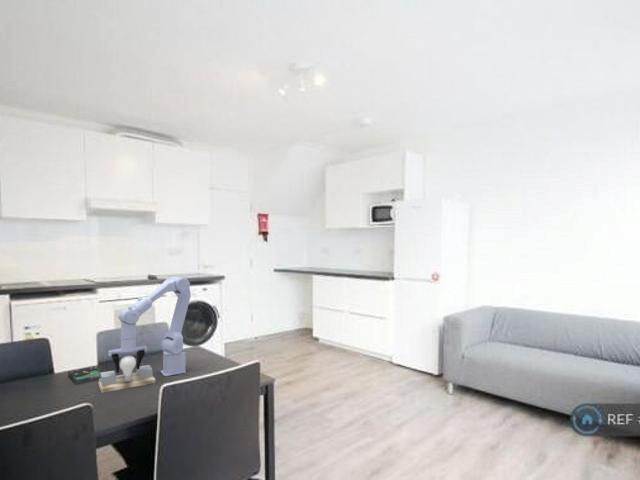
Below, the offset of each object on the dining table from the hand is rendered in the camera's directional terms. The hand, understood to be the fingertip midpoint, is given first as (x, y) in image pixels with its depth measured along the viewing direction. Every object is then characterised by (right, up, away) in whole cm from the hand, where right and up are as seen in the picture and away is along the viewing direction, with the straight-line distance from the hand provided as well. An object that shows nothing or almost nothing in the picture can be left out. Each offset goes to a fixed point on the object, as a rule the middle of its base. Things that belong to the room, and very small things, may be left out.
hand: (127, 370), depth 160 cm
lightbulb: (0, -5, -1) cm, 5 cm away
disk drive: (-23, -7, +7) cm, 25 cm away
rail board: (-1, -6, +1) cm, 6 cm away
